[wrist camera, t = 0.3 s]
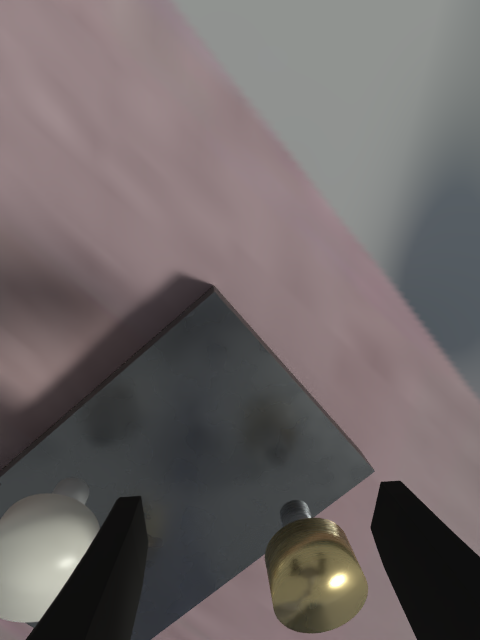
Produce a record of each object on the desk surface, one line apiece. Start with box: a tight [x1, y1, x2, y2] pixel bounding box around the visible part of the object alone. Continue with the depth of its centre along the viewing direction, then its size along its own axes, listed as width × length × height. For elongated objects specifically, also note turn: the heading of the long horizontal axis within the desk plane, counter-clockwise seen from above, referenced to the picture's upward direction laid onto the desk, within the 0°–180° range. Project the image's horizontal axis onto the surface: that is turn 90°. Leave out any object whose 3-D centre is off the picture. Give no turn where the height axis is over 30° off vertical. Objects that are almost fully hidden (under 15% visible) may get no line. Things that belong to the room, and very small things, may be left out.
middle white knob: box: [0, 478, 100, 622], centre depth 14 cm, size 4×4×4 cm
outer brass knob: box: [265, 500, 368, 633], centre depth 16 cm, size 4×4×4 cm
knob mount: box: [0, 286, 375, 640], centre depth 20 cm, size 23×15×2 cm, turn 130°
